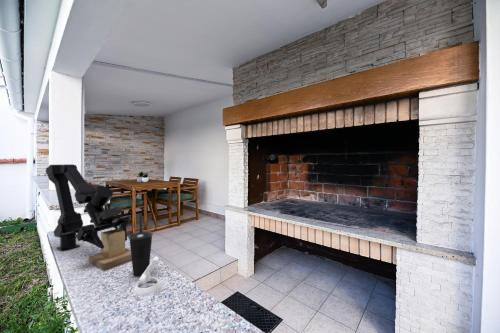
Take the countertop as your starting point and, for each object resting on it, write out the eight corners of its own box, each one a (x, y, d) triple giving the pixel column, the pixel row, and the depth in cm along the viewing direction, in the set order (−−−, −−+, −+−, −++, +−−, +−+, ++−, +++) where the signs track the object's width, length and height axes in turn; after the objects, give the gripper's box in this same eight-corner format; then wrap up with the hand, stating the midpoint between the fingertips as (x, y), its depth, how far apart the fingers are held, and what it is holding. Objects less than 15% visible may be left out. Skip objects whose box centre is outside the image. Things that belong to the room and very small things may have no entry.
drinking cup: (158, 270, 78) (157, 214, 78) (141, 280, 71) (140, 219, 70) (141, 266, 80) (141, 213, 80) (123, 277, 73) (122, 218, 73)
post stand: (89, 262, 84) (88, 246, 84) (121, 252, 94) (120, 237, 94) (104, 270, 77) (103, 252, 77) (136, 258, 88) (136, 242, 87)
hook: (170, 278, 63) (148, 267, 61) (148, 307, 64) (126, 297, 63) (176, 261, 70) (157, 250, 68) (156, 288, 71) (137, 278, 70)
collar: (101, 255, 85) (101, 232, 85) (117, 250, 90) (117, 228, 90) (109, 258, 81) (108, 235, 81) (125, 253, 87) (124, 230, 86)
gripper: (80, 204, 79) (99, 239, 74) (127, 197, 96) (145, 225, 91) (68, 224, 82) (85, 258, 77) (116, 213, 99) (133, 241, 94)
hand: (115, 244), depth 85 cm, fingers open, 9 cm apart
